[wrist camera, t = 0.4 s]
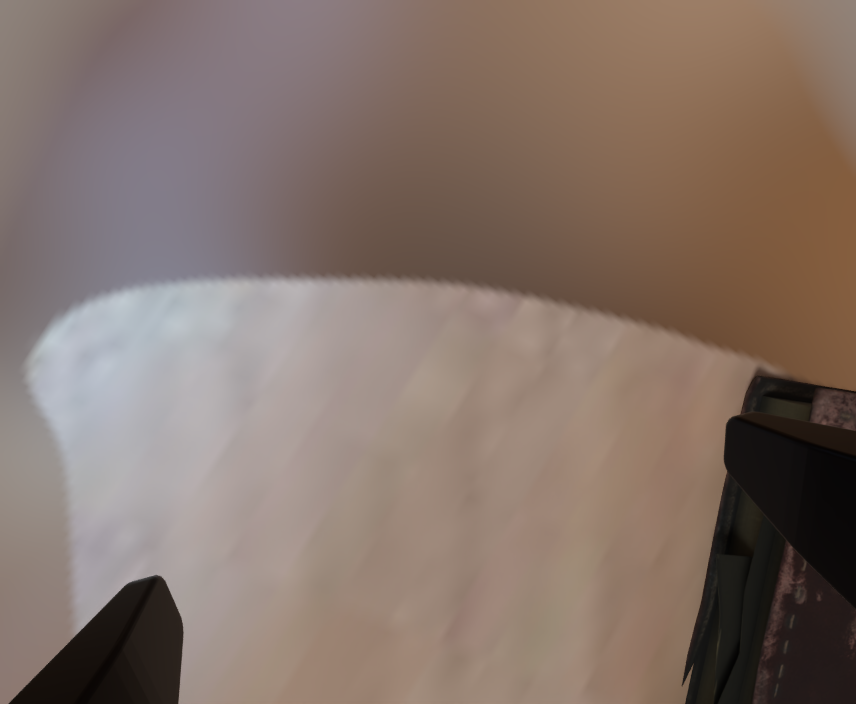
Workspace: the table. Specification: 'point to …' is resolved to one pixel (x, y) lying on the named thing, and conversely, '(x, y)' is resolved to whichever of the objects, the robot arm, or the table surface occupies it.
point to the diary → (772, 590)
